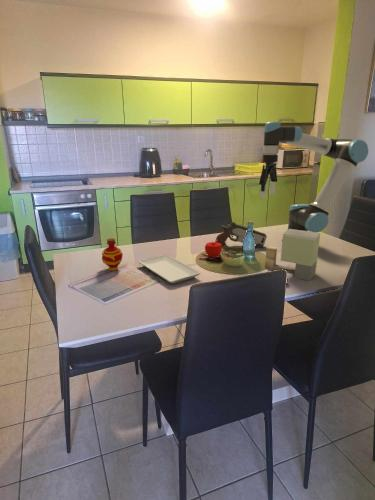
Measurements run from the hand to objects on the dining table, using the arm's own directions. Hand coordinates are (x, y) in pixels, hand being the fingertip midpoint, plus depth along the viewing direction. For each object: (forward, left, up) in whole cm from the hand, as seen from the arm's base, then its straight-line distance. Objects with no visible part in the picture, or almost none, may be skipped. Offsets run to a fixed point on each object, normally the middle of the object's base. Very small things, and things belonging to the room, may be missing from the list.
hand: (267, 195), depth 182 cm
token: (+36, +22, -32) cm, 53 cm away
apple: (+22, -20, -32) cm, 44 cm away
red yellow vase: (+63, -54, -32) cm, 89 cm away
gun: (-4, -16, -32) cm, 36 cm away
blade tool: (+20, +16, -32) cm, 41 cm away
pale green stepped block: (+22, +25, -32) cm, 46 cm away
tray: (+52, -28, -32) cm, 68 cm away
